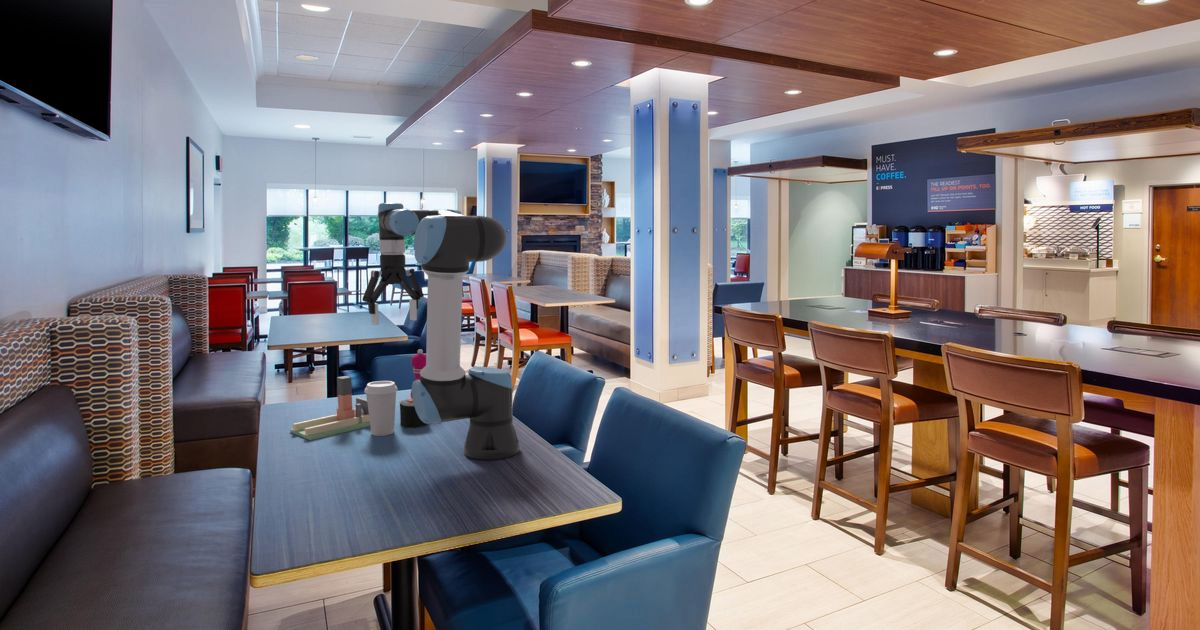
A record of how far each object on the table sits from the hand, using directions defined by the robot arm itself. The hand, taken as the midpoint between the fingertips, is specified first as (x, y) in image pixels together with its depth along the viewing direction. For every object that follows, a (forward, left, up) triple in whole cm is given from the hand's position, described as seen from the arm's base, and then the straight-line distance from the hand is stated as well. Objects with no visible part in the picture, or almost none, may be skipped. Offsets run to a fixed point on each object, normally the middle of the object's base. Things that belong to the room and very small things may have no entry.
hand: (394, 322), depth 222 cm
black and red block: (+8, +13, -30) cm, 34 cm away
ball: (+8, +9, -29) cm, 31 cm away
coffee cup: (-7, +10, -32) cm, 34 cm away
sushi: (-6, -2, -32) cm, 33 cm away
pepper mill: (+10, -16, -32) cm, 37 cm away
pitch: (+8, +17, -32) cm, 37 cm away
